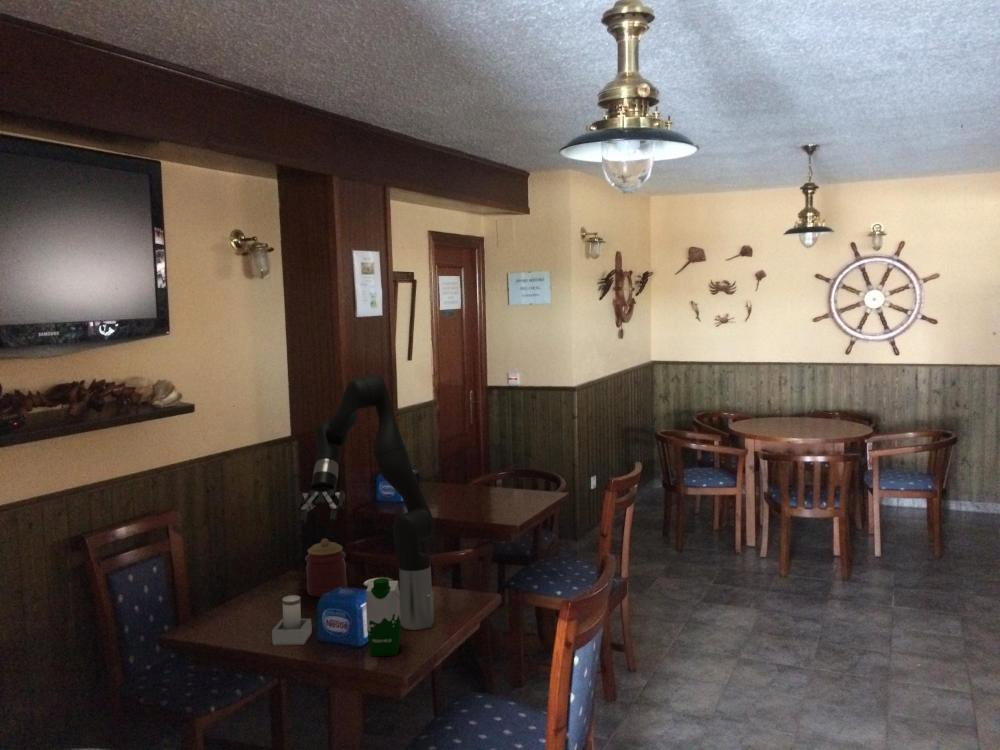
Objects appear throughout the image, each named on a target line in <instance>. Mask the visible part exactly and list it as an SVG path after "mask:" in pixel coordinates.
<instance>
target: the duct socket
mask: <svg viewBox="0 0 1000 750" xmlns="http://www.w3.org/2000/svg"><path fill="white" fill-rule="evenodd" d="M312 627H313V626H312V618H301V629H283V618H282V619H280V620H279V621H278V623H277V624H276V625H275V626H274V627H273V629H272V630H271V637H272V639H271V640H272V646H303V645H305V643H306V642H307V640H308V639H309V637H310V636H311V635H312V633H313V632H312V631H313V629H312Z"/></svg>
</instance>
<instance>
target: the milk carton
mask: <svg viewBox="0 0 1000 750" xmlns="http://www.w3.org/2000/svg"><path fill="white" fill-rule="evenodd" d="M365 604H366V605H365V607H366V627H367V629H366V630H367V641H368V646H369V653H370V654H369V655H370V657H385V656H386V657H388V656H390V657H391V656H397V655H398V652H399V649H400V645H401V635H402V625H401V607H400V586H399V580H389V579H388V578H385V577H384V578H383V577H382V578H379V577H378V578H376V579H374V580H373V581H370V582H369V584H368V585H367V589H366V591H365Z"/></svg>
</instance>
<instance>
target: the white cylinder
mask: <svg viewBox="0 0 1000 750" xmlns="http://www.w3.org/2000/svg"><path fill="white" fill-rule="evenodd" d="M281 602H282V619H283V629H301V619H302V616H301V613H302V612H301V611H302V610H301V596H299V595H295V594H294V595H293V594H292V595H291V594H290V595H287V596H284V597H283V598H282V599H281Z"/></svg>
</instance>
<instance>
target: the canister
mask: <svg viewBox="0 0 1000 750" xmlns="http://www.w3.org/2000/svg"><path fill="white" fill-rule="evenodd" d="M343 549H344V547H343V546H342V545H341V544H338V543H337V542H332V541H329V539H328V538H322V539H321V540H320V542H319V543H315V544H312V546H310V547H309V548H308V549H307V553H308V554H307V555H306V556H305V558H304V559H305V562H306V566H305V570H306V584H307V585H306V591H307V594H308V595H309V596H310V595H311V597H313V596H314V597H313V598H320V597H319V596H321V595H322V594H323V593H325V592H327V591H329V590H331V589H333V588H336V587H344V586H347V587H348V581H347V580H348V579H347V562H345V557H346V555H347V554H346V552H344V551H343ZM315 596H316V597H315Z"/></svg>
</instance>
